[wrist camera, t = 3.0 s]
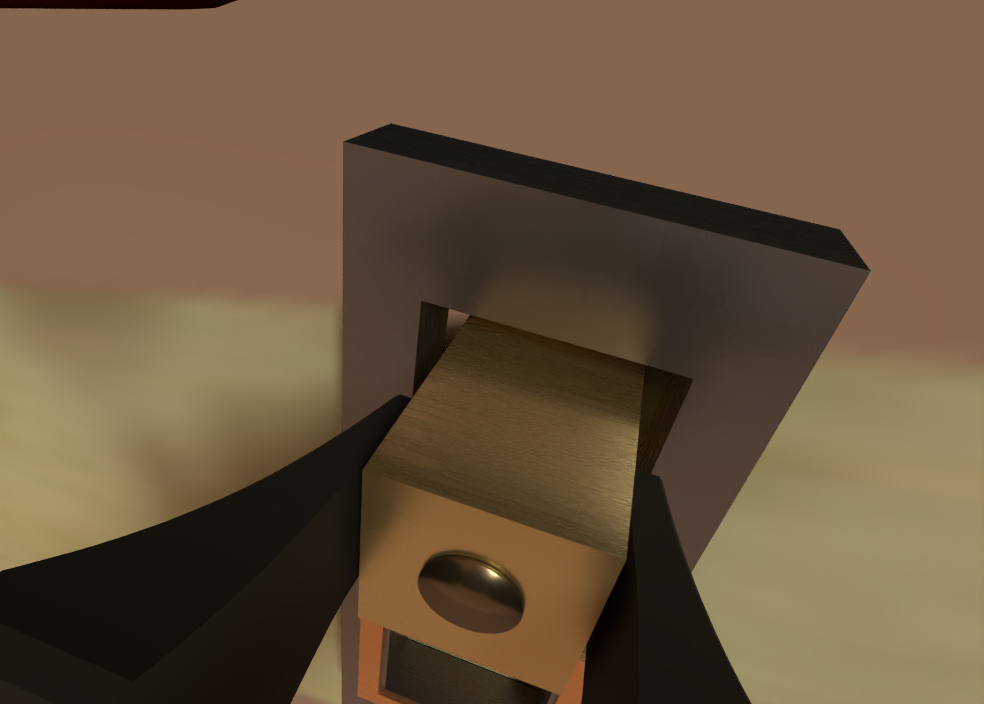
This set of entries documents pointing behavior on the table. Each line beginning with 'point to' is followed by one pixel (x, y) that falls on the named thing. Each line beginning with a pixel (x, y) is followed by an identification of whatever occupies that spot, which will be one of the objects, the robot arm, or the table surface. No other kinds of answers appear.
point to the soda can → (114, 4)
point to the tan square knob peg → (504, 502)
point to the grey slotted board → (575, 329)
